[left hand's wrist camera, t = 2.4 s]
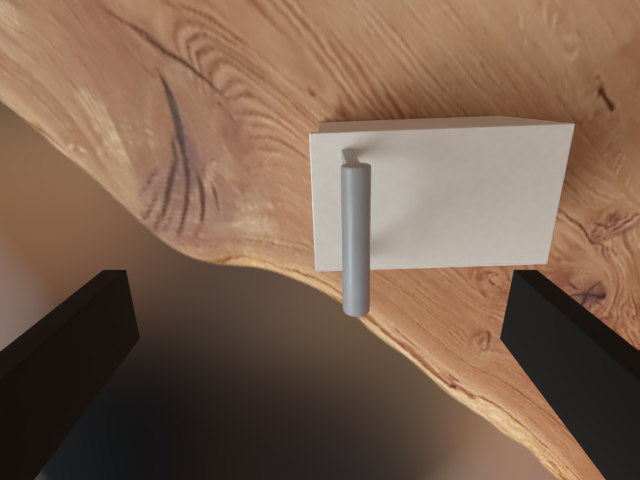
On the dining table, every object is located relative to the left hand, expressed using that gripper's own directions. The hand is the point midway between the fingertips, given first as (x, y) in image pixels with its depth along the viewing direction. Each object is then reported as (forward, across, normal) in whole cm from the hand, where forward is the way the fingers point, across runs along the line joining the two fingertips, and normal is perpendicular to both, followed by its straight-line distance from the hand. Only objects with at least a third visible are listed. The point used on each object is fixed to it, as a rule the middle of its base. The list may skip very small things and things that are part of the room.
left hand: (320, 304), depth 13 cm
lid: (+14, +8, 0) cm, 16 cm away
